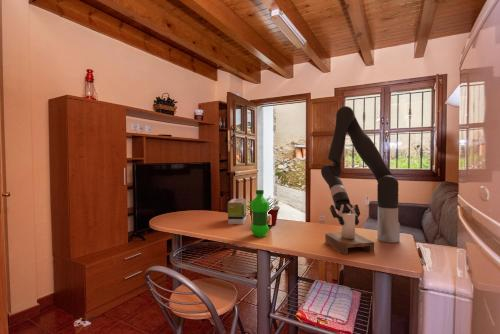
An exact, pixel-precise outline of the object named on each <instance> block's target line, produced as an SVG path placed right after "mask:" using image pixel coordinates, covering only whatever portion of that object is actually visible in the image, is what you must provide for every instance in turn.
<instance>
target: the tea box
mask: <svg viewBox="0 0 500 334" xmlns="http://www.w3.org/2000/svg"><path fill="white" fill-rule="evenodd" d="M246 203H247V200H246V198H231V199H230V200H229V201H227V222H228V223H227V224H228V225H231V224H239V226H241V225H242V226H243V225H244V223H245V222H246V220H247V204H246Z"/></svg>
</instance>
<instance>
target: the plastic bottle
mask: <svg viewBox="0 0 500 334" xmlns="http://www.w3.org/2000/svg"><path fill="white" fill-rule="evenodd" d="M264 191H265V190H264V189H256V190H255V194H256V196H255V198H253V199H252V200H251V201H250V205H249V207H250V210H251V211H252V224H251V227H250V231H251V232H252V234H254V235H255V237H258V238H261V237H266V235H267V234H268V233H269V231H270V226H268V224H267V210H268V209H269V205H270V202H269V201H268V200H267V198H265V197H264V195H263V194H264Z"/></svg>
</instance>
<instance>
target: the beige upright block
mask: <svg viewBox="0 0 500 334" xmlns="http://www.w3.org/2000/svg"><path fill="white" fill-rule="evenodd" d="M341 217H342V218H343V221H344V225H341V231H340V233H341V236H342V237H343V238H347V239H353V238H355V233H356V225H355V214H354V213H342V214H341Z"/></svg>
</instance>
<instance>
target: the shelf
mask: <svg viewBox="0 0 500 334" xmlns="http://www.w3.org/2000/svg"><path fill="white" fill-rule="evenodd" d="M324 237H325V244H327V245H328V246H330V247H331V248H332V249H334V250H336V251H337V252H339V253H341V254H342V255H344V256H345V255H348V254H349V248H361V249H363V250H365V251H366V252H368V253H375V242H374V241H373V240H370V239H368V238H367V237H364V236H362V235H360V234H358V233H356V232H355V238H353V239H347V238H343V237H342V236H341V232H330V233H329V232H328V233H325V235H324Z"/></svg>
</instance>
